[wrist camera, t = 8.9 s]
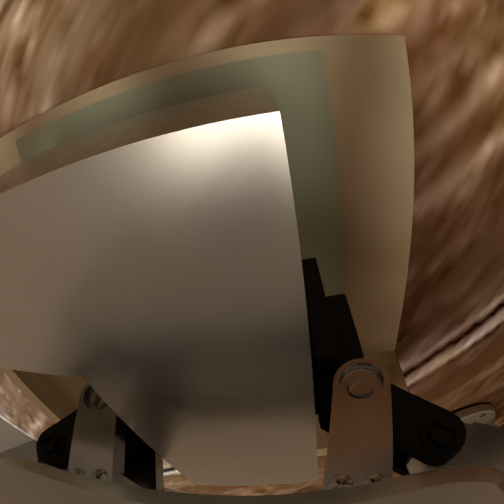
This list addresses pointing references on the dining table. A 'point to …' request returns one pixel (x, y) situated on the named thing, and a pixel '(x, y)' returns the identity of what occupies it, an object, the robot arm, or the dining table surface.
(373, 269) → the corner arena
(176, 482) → the dining table surface
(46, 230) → the bracket
